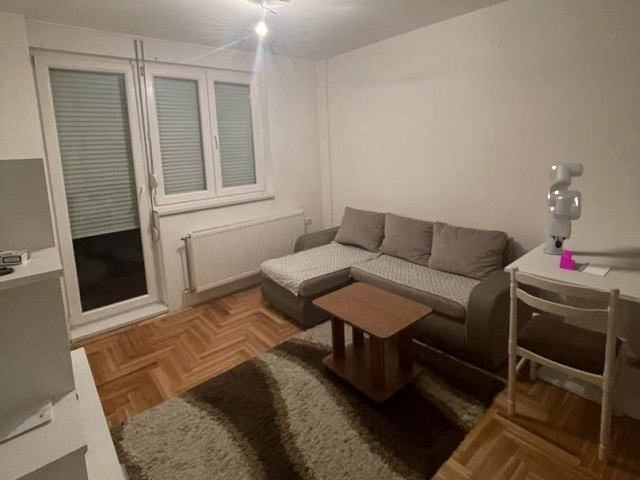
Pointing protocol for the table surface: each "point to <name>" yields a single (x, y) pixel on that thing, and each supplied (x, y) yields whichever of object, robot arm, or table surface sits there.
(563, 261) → the toy block
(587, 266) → the mat
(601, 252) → the table surface
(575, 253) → the table surface
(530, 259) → the table surface
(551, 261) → the table surface
